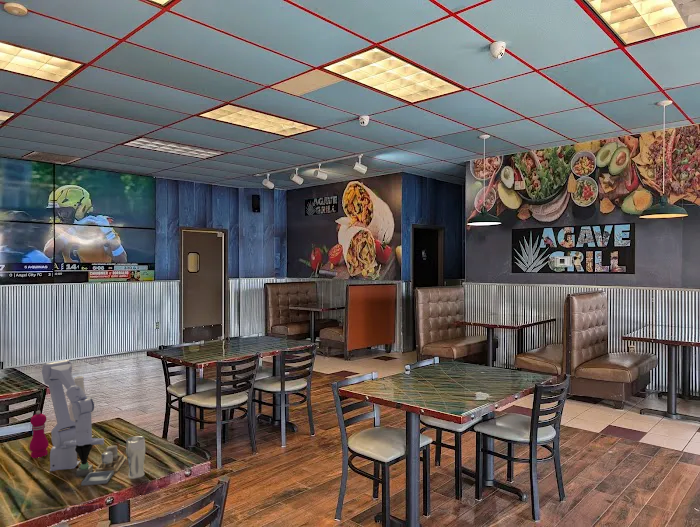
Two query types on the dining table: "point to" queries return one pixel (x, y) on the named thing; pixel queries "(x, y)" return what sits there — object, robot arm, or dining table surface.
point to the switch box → (84, 471)
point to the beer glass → (135, 456)
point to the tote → (97, 478)
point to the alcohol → (80, 383)
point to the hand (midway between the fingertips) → (84, 463)
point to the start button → (84, 466)
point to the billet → (107, 459)
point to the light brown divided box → (117, 460)
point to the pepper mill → (38, 436)
